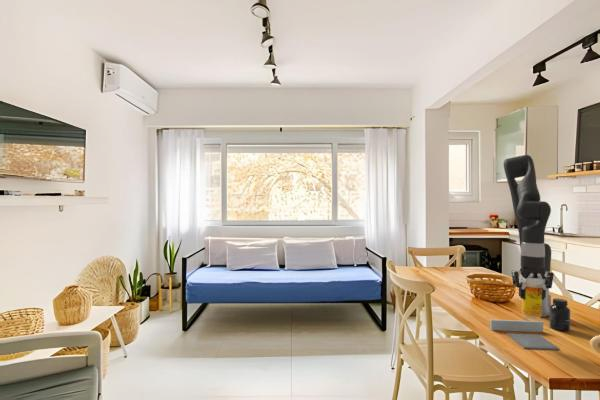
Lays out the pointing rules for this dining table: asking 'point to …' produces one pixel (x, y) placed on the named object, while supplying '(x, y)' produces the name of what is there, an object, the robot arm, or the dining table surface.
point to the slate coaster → (532, 341)
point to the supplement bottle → (559, 315)
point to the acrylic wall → (516, 325)
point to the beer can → (532, 298)
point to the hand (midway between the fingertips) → (531, 298)
